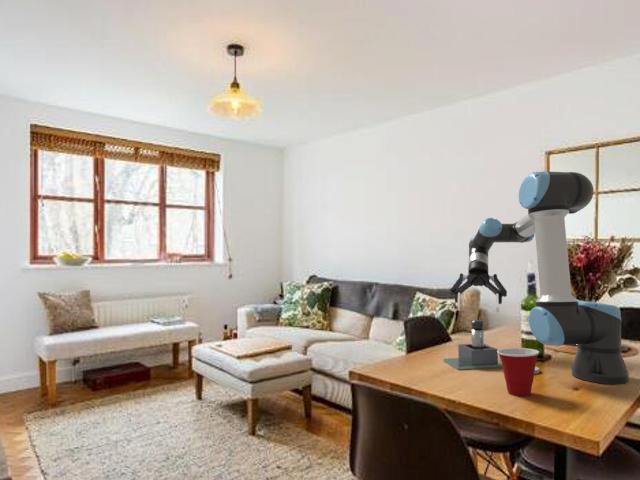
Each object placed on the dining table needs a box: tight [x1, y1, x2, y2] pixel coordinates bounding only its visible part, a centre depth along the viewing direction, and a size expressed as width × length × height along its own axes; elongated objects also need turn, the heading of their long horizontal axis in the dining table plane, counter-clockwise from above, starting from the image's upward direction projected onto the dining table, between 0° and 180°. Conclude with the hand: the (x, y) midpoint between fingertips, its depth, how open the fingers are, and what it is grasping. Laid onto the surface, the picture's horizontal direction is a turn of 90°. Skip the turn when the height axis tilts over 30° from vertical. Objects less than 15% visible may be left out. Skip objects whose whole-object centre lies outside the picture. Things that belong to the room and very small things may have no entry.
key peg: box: [470, 319, 485, 349], centre depth 158 cm, size 4×4×14 cm
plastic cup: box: [497, 347, 540, 397], centre depth 126 cm, size 11×11×12 cm
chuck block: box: [443, 343, 503, 371], centre depth 157 cm, size 11×16×6 cm
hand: (477, 309), depth 167 cm, fingers open, 13 cm apart
